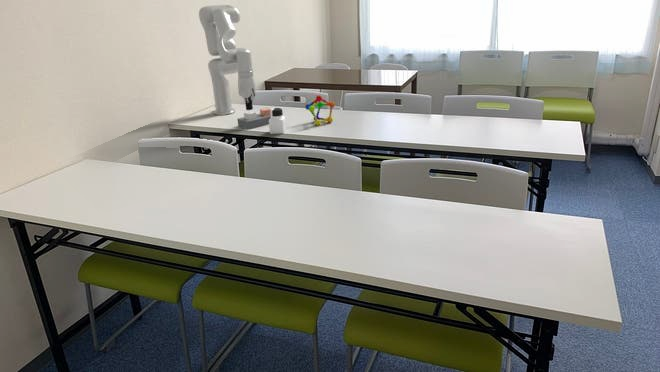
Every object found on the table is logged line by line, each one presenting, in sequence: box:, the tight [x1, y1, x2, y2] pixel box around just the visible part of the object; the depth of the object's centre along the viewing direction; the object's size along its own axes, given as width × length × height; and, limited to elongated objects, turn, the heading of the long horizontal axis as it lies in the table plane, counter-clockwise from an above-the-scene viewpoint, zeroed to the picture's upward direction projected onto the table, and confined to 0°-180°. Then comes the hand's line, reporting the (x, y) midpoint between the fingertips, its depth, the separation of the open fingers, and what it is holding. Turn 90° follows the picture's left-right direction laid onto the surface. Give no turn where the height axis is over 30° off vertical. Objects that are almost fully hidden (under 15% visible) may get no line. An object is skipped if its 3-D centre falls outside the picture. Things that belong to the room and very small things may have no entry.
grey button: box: [243, 110, 257, 120], centre depth 259 cm, size 4×4×4 cm
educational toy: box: [305, 94, 336, 126], centre depth 258 cm, size 16×13×15 cm
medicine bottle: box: [268, 107, 287, 135], centre depth 245 cm, size 7×7×12 cm
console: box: [236, 113, 271, 130], centre depth 263 cm, size 10×20×4 cm, turn 130°
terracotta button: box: [259, 107, 272, 116], centre depth 265 cm, size 4×4×4 cm
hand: (249, 109), depth 257 cm, fingers closed
